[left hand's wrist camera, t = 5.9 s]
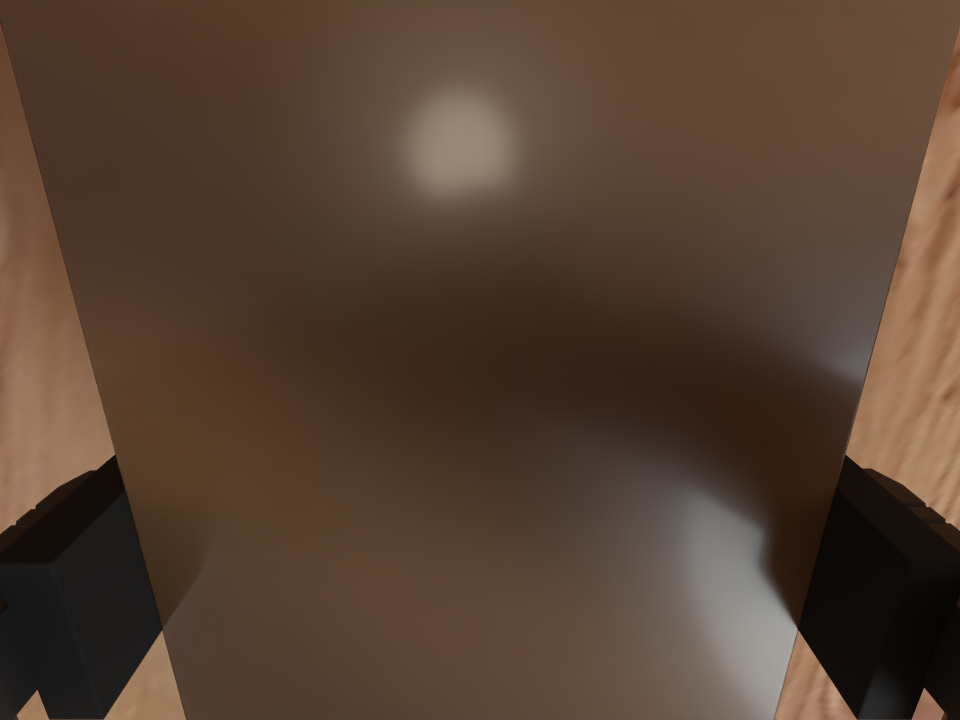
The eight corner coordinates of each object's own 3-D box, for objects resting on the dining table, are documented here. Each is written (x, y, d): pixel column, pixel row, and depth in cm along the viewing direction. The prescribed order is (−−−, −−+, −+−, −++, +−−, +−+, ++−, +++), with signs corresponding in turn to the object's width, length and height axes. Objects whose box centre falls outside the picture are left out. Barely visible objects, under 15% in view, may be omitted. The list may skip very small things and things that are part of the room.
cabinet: (218, -282, 11) (-317, -1155, 4) (742, -282, 11) (1279, -1156, 4) (317, 514, 18) (200, 780, 10) (642, 514, 18) (759, 780, 10)
